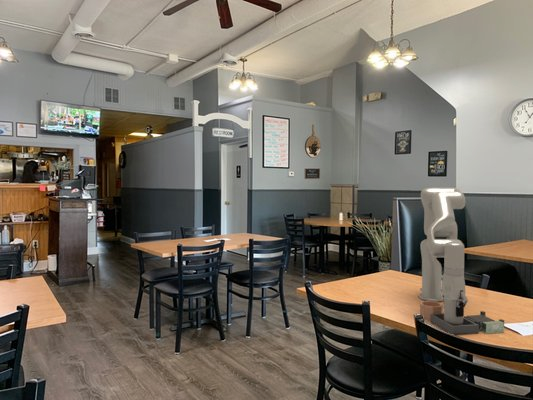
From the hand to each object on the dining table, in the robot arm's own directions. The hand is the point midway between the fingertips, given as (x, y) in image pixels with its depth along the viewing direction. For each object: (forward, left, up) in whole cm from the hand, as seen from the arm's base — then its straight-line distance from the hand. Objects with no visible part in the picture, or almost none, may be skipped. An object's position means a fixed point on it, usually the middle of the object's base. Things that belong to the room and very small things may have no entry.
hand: (453, 313), depth 166 cm
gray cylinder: (0, 0, -4) cm, 4 cm away
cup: (-14, -2, -6) cm, 15 cm away
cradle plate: (0, +13, -5) cm, 14 cm away
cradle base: (+1, +12, -6) cm, 14 cm away
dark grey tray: (0, 0, -6) cm, 6 cm away
